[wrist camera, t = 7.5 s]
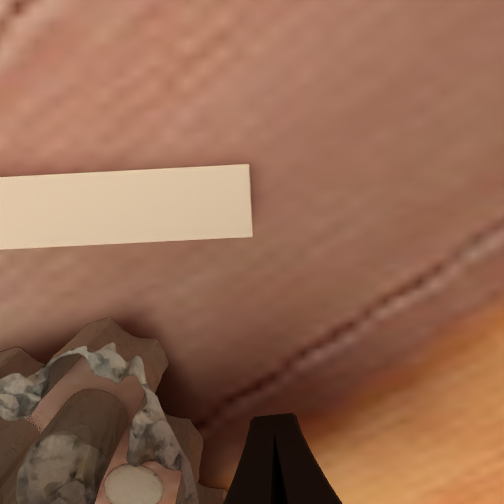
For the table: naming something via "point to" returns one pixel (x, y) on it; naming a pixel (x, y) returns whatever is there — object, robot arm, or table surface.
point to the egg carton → (93, 427)
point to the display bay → (125, 206)
